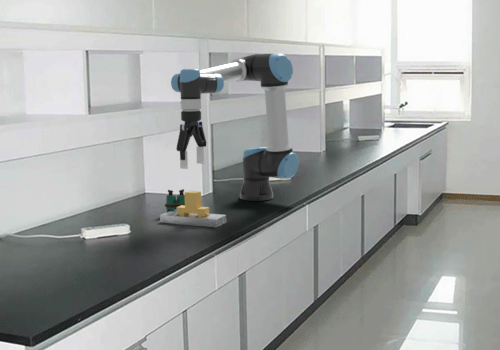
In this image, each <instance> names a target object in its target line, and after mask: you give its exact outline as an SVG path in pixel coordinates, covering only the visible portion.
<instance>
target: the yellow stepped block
mask: <svg viewBox="0 0 500 350" xmlns="http://www.w3.org/2000/svg"><path fill="white" fill-rule="evenodd" d="M184 195H185V205H181V206H179V207H176V208H177V209H176V211H177V212H179V216H187V215H189V213H192V214H198V217H202V218H204V217H207V213H209V214H210V206H209V207H208V206H202V191H197V190H188V191H184Z"/></svg>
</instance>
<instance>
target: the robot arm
mask: <svg viewBox="0 0 500 350" xmlns="http://www.w3.org/2000/svg"><path fill="white" fill-rule="evenodd" d="M293 71H294V68H293V64H292V61H291V59H290V58H289V57H288V56H287V55H285V54H283V53H277V52H276V53H275V52H274V53H253V54H251V55H249V54H248V55H247V56H243V57H240V58H234V59H233V60H232V61H231V62H229V63H225V64H220V65H215V66H212V67H208V68H207V67H206V68H203V69H198V68H182V69H181V70H180V72H179V73H175V74H174V75H172V77H171V80H170V86H171V89H172V90H173V91H174V92H176V93H180V109H181V112H180V120H181V122H184V124H182V123H181V124H179V134H178V137H177V138H178V139H177V145H176V151H177V152H179V161H180V165H179V166H180V169H181V170H182V169H183V170H184V169H185V170H186V169H187V170H188V168H189V166H188V165H189V164H188V161H189V160H188V150H187V149H188V145H189V143H190V140H191V138H192V137H193V139H194V140H195V142H196V164H200V165H203V164H205V155H204V151H205V150H204V148H205V147H207V140H206V134H205V131H204V127H203V122H202V121H201V120H202V111H201V109H202V101H201V100H202V98H201V95H202V94H217V93H220V92H222V90H223V89H224V87H225V84H226V83H229V82H234V81H235V82H244V81H247V82H248V81H251V82H260V87H261V89H263V90H264V98H265V99H264V100H265V112H266V125H267V138H268V146H260V147H251V148H245V149H244V151H243V155H242V170H243V176H242V177H243V182H242V185H241V189H240V192H239V199H240V200H243V201H248V202H249V201H250V202H257V201H258V202H261V201H269V200H272V199H274V192H273V189H272V186H271V183H270V178H274V179H275V178H277V179H279V180H280V179H281V180H283V179H284V180H288V179H291V178H292V177H294V176H295V175H296V173H297V172H298V169H299V165H300V157H299V155H298V154H297V153H295V152H293V146H292V145H291V143H289V132H288V131H289V130H288V118H287V115H288V114H287V102H286V88H287V86H289V85H288V84H289V81H290V80H291V79H292V77H293V76H292V75H293Z"/></svg>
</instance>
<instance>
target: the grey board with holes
mask: <svg viewBox="0 0 500 350" xmlns="http://www.w3.org/2000/svg"><path fill="white" fill-rule="evenodd" d="M159 220H160V221H159V223H161V224H173V225H182V226H183V225H185V226H193V227H194V226H196V227H204V228H205V227H206V228H218V227H220V226H222V225H225V224H226V223H227V214H221V213H220V214H219V213H210V212H209V213H207V217H204V218H202V217H198V214H192V213H189V215H187V216H179V212H177V210H175V211H172V210H171V211H169V212H167V211H166V212H164V213H161V214H160V215H159Z"/></svg>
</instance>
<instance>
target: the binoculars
mask: <svg viewBox="0 0 500 350" xmlns="http://www.w3.org/2000/svg"><path fill="white" fill-rule="evenodd" d="M178 192H179V194H177V195H175V194H174V190H171V189H167V193H168V195H167V194H166V201H165V204H164V206H165V209H166V212H169V211H171V210H172V211H177V207H179V206H181V205H185V189H184V188H183V189H180V190H178Z"/></svg>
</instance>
